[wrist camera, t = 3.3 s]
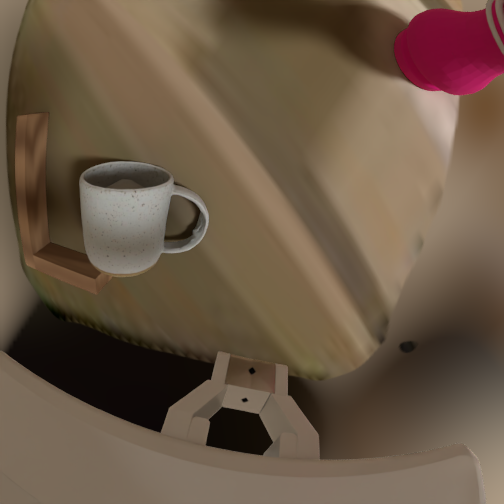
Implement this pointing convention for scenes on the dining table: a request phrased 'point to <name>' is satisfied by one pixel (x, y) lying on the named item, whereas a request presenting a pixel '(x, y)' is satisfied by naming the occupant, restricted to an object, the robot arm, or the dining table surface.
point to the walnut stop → (44, 211)
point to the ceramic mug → (131, 216)
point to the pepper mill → (453, 49)
